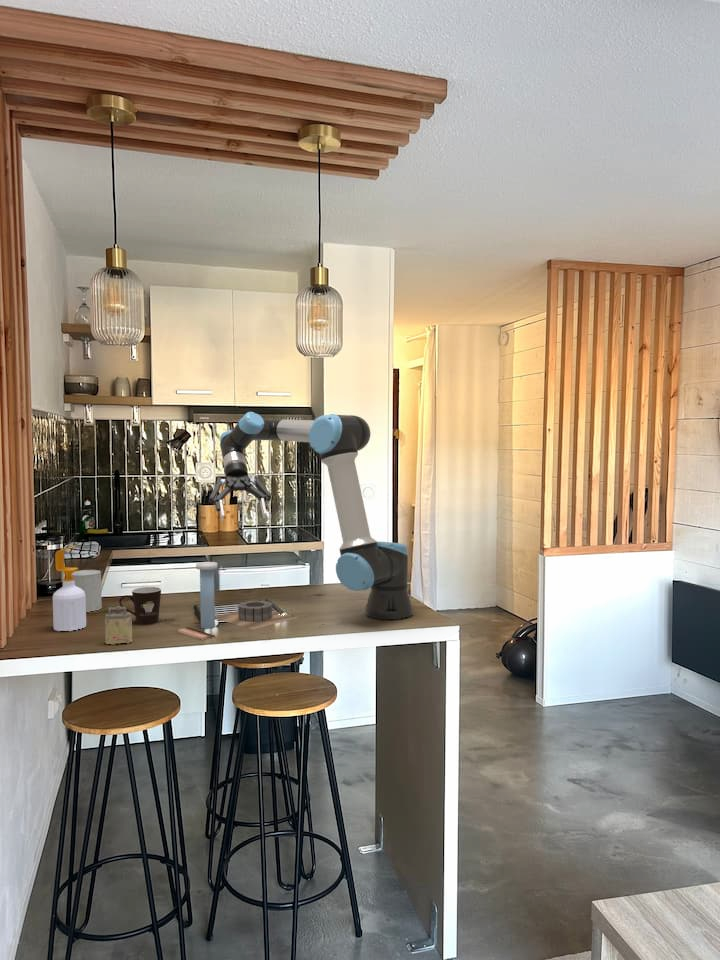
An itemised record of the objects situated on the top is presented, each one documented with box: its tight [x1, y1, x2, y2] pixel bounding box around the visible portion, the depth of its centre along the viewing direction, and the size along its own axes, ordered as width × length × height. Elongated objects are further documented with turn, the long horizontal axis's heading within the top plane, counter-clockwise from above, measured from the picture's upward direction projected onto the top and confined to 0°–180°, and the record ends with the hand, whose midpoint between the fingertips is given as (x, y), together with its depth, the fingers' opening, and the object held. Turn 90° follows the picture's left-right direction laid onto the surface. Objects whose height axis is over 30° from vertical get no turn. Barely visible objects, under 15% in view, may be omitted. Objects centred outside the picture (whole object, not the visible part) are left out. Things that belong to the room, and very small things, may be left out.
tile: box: [178, 626, 216, 641], centre depth 205 cm, size 12×12×1 cm
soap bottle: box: [52, 545, 87, 632], centre depth 208 cm, size 9×9×25 cm
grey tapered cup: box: [72, 569, 103, 613], centre depth 231 cm, size 10×10×12 cm
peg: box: [195, 561, 218, 630], centre depth 204 cm, size 6×6×19 cm
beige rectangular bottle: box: [104, 605, 133, 645], centre depth 194 cm, size 7×4×10 cm, turn 101°
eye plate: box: [215, 600, 300, 630], centre depth 215 cm, size 20×18×6 cm
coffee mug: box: [118, 586, 162, 626], centre depth 215 cm, size 12×9×10 cm
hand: (244, 517), depth 227 cm, fingers open, 13 cm apart
